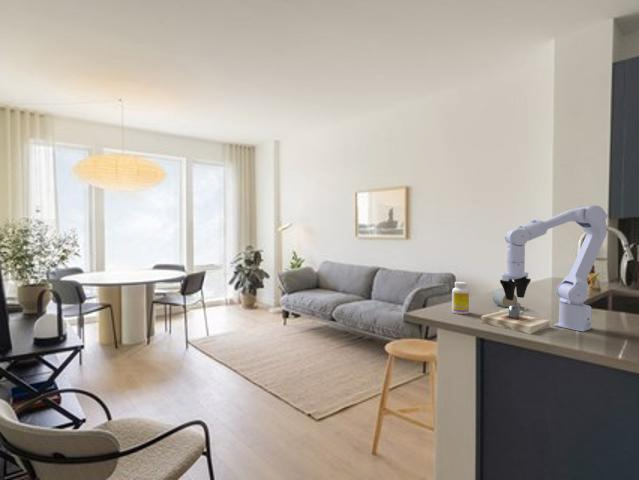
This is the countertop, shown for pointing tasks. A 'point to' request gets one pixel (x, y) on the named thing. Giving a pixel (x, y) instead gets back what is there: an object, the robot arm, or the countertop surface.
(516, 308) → the peg
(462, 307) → the supplement bottle
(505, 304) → the ceramic mug
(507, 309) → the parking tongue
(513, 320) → the hole plate
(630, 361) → the countertop surface
